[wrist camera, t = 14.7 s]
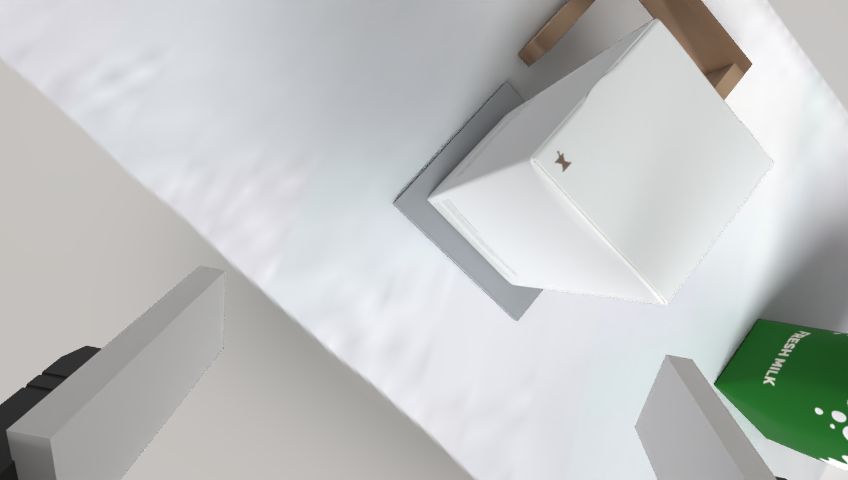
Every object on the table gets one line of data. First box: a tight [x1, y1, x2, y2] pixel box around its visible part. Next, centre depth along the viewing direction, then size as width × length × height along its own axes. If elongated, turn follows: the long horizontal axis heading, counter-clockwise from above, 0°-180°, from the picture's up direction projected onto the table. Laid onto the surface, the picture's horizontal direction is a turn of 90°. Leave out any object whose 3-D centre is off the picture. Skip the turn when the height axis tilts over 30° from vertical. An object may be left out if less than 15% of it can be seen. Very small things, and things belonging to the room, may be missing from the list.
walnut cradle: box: [518, 0, 752, 100], centre depth 37 cm, size 12×13×3 cm
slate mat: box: [393, 82, 543, 321], centre depth 35 cm, size 12×12×1 cm
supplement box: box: [427, 18, 774, 305], centre depth 28 cm, size 9×9×15 cm
